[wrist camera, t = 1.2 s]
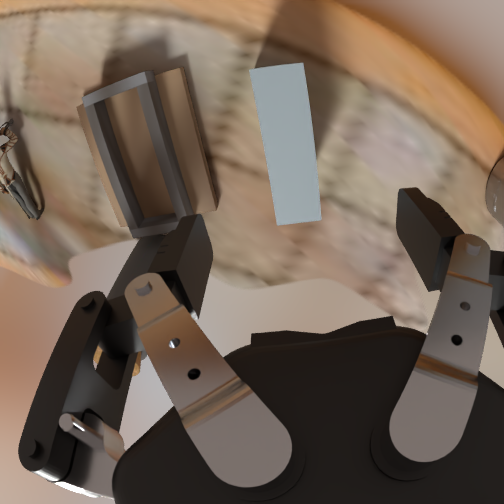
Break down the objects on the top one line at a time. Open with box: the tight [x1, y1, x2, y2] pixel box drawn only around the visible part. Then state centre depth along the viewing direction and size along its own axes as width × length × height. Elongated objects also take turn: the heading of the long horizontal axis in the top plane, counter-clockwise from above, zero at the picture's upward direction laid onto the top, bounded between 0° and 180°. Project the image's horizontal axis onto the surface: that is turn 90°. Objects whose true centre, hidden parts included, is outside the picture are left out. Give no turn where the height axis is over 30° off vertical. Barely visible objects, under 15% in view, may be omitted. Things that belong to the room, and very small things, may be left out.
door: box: [249, 63, 321, 225], centre depth 21 cm, size 3×11×8 cm, turn 10°
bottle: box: [93, 234, 165, 376], centre depth 27 cm, size 6×6×15 cm
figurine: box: [0, 119, 44, 220], centre depth 25 cm, size 6×4×15 cm
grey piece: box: [77, 67, 218, 238], centre depth 25 cm, size 11×15×3 cm
